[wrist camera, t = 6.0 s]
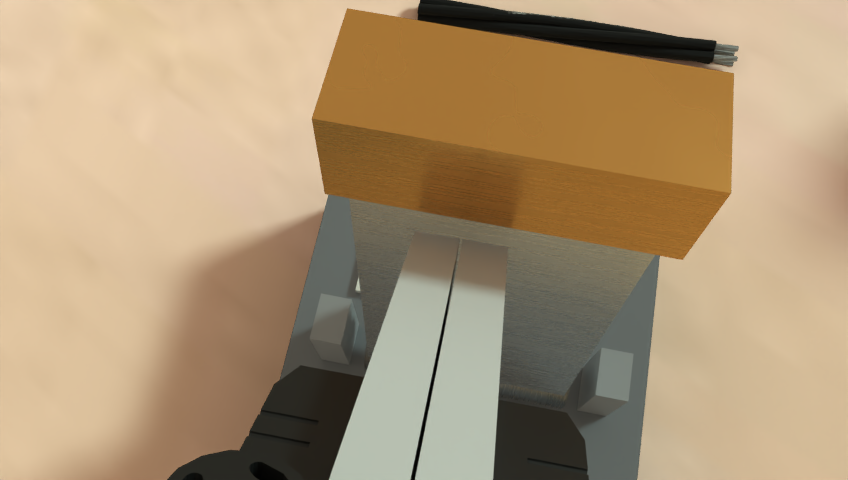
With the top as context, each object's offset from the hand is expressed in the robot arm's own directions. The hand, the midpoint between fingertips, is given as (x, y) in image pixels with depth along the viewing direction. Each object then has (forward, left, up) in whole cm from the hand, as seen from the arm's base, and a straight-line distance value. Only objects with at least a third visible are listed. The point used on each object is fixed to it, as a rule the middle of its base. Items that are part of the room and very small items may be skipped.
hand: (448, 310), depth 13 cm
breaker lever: (-1, -1, -7) cm, 7 cm away
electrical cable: (-8, -13, -13) cm, 21 cm away
